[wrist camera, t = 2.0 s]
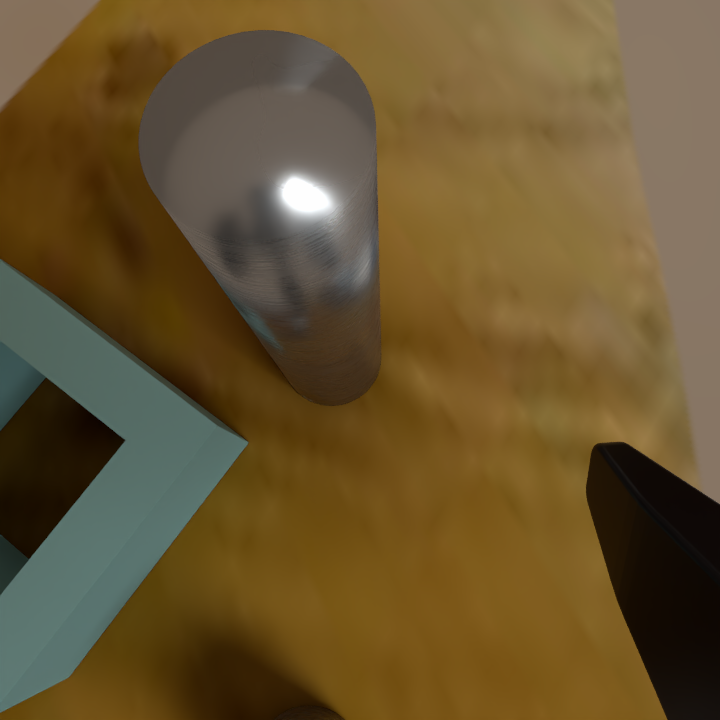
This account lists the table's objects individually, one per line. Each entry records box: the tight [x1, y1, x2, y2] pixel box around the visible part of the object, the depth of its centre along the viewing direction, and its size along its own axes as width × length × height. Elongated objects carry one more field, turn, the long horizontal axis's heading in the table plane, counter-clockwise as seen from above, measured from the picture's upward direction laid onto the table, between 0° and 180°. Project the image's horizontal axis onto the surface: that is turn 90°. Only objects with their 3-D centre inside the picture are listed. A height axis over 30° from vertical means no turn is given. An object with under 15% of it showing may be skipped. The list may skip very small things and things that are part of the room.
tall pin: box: [139, 30, 381, 406], centre depth 15 cm, size 3×3×13 cm
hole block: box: [0, 259, 249, 712], centre depth 19 cm, size 9×9×4 cm
